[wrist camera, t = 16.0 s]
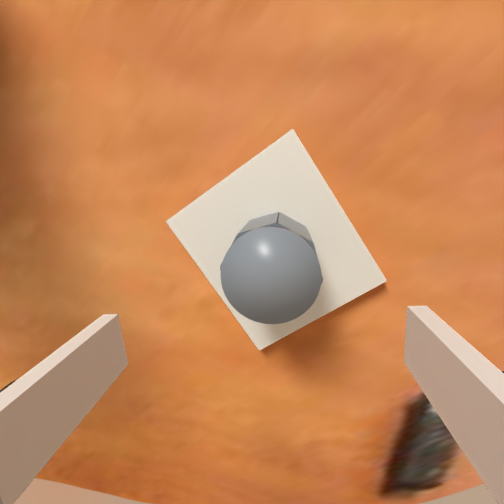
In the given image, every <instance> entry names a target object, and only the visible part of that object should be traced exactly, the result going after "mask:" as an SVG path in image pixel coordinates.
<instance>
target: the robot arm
mask: <svg viewBox="0 0 504 504" xmlns="http://www.w3.org/2000/svg"><path fill="white" fill-rule="evenodd" d="M404 364H405V365H406V367H407V368H408V370H409V371H410V373H411V374H412V376H413V377H414V379H415V380H416V382H417V383H418V385H419V386H420V388H421V389H422V391H423V392H424V394H425V395H426V397H427V398H428V400H429V401H430V403H431V404H432V406H433V407H434V409H435V410H436V412H437V413H438V415H439V416H440V418H441V419H442V421H443V422H444V424H445V425H446V427H447V428H448V430H449V431H450V433H451V434H452V436H453V437H454V439H455V440H456V442H457V443H458V445H459V446H460V448H461V449H462V451H463V452H464V454H465V455H466V457H467V458H468V460H469V461H470V463H471V464H472V466H473V467H474V469H475V471H476V472H477V474H478V475H479V477H480V478H481V480H482V481H483V483H484V484H485V485H486V487H487V488H488V490H489V492H490V493H491V494H492V496H493V497H494V499H495V501H496V502H497V503H498V504H504V371H500V370H499V369H498V368H497V367H496V366H494V365H493V364H492V363H491V362H490V361H489V360H488V359H486V358H485V357H484V356H483V355H482V354H481V353H480V352H478V351H477V350H476V349H475V348H474V347H473V346H472V345H471V344H469V343H468V342H467V341H466V340H465V339H464V338H463V337H461V336H460V335H459V334H458V333H457V332H456V331H455V330H453V329H452V328H451V327H450V326H449V325H448V324H447V323H445V322H444V321H443V320H442V319H441V318H440V317H439V316H437V315H436V314H435V313H434V312H433V311H432V310H431V309H430V308H428V307H427V306H407V320H406V338H405V355H404ZM127 366H128V360H127V355H126V350H125V345H124V340H123V335H122V331H121V326H120V321H119V316H118V314H103V315H102V316H101V317H99V318H98V319H97V320H95V321H94V322H93V323H91V324H90V325H89V326H87V327H86V328H85V329H83V330H82V331H81V332H79V333H78V334H77V335H76V336H74V337H73V338H72V339H70V340H69V341H68V342H66V343H65V344H64V345H62V346H61V347H60V348H58V349H57V350H56V351H54V352H53V353H52V354H51V355H49V356H48V357H47V358H45V359H44V360H43V361H41V362H40V363H39V364H37V365H36V366H35V367H33V368H32V369H31V370H29V371H28V372H27V373H26V374H24V375H23V376H22V377H20V378H18V379H17V380H15V381H13V382H11V383H10V384H8V385H7V386H6V387H4V388H3V389H2V390H0V504H14V502H15V501H16V500H17V499H18V498H19V496H20V495H21V494H22V493H23V492H24V490H25V489H26V488H27V486H29V484H30V483H31V482H32V481H33V479H34V478H35V477H36V476H37V475H38V473H39V472H40V471H41V470H42V469H43V467H44V466H45V465H46V464H47V462H48V461H49V460H50V459H51V458H52V456H53V455H54V454H55V453H56V452H57V450H58V449H59V448H60V447H61V446H62V444H63V443H64V442H65V441H66V439H67V438H68V437H69V436H70V435H71V433H72V432H73V431H74V430H75V429H76V427H77V426H78V425H79V424H80V423H81V421H82V420H83V419H84V418H85V416H86V415H87V414H88V413H89V412H90V410H91V409H92V408H93V407H94V406H95V404H96V403H97V402H98V401H99V400H100V398H101V397H102V396H103V395H104V393H105V392H106V391H107V390H108V389H109V387H110V386H111V385H112V384H113V383H114V381H115V380H116V379H117V378H118V377H119V375H120V374H121V373H122V372H123V370H124V369H125V368H126V367H127Z"/></svg>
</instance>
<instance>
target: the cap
mask: <svg viewBox="0 0 504 504" xmlns="http://www.w3.org/2000/svg"><path fill="white" fill-rule="evenodd" d="M220 270H221V285H222V288H223V291H224V294H225V296H226V298H227V300H228V301H229V303H230V304H231V305H232V306H233V307H234V309H235V310H236V311H238V312H239V313H240V314H241V315H243V316H245V317H246V318H248V319H250V320H253V321H256V322H259V323H263V324H281V323H285V322H289V321H291V320H294V319H296V318H298V317H299V316H301V315H302V314H304V313H305V312H306V311H307V310H308V309H309V308H310V307H311V306H312V304H313V303H314V302H315V300H316V298H317V296H318V294H319V291H320V287H321V284H322V283H323V277H322V273H321V267H320V264H319V261H318V257H317V254H316V250H315V246H314V243H313V240H312V238H311V236H310V234H309V232H308V230H307V228H306V226H304V225H302V224H301V223H299V222H297V221H295V220H293V219H292V218H290V217H288V216H286V215H284V214H283V213H281V212H276V213H272V214H269V215H265V216H262V217H258V218H255V219H251V220H250V221H249V222H248V223H247V224H246V225H245V226H244V227H243V228H242V229H241V230H240V232H239V233H238V234H237V235H236V237H235V239H234V241H233V243H232V245H231V247H230V248H229V249H228V251H227V253H226V254H225V257H224V259H223V261H222V263H221V265H220Z"/></svg>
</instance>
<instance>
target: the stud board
mask: <svg viewBox="0 0 504 504" xmlns="http://www.w3.org/2000/svg"><path fill="white" fill-rule="evenodd" d="M276 212H281V213H283V214H284V215H286V216H288V217H290V218H292V219H293V220H295V221H297V222H299V223H301V224H302V225H304V226H306V228H307V230H308V232H309V234H310V236H311V238H312V240H313V243H314V246H315V250H316V254H317V257H318V261H319V264H320V267H321V273H322V277H323V283H322V284H321V287H320V291H319V294H318V296H317V298H316V300H315V302H314V303H313V304H312V306H311V307H310V308H309V309H308V310H307V311H306V312H305V313H304V314H302V315H301V316H299V317H298V318H296V319H294V320H291V321H289V322H285V323H281V324H263V323H259V322H256V321H253V320H250V319H248V318H246V317H245V316H243V315H241V314H240V313H239V312H238V311H236V310H235V309H234V307H233V306H232V305H231V304H230V303H229V301H228V300H227V298H226V296H225V294H224V291H223V288H222V285H221V270H220V265H221V263H222V261H223V259H224V257H225V254H226V253H227V251H228V249H229V248H230V247H231V245H232V243H233V241H234V239H235V237H236V235H237V234H238V233H239V232H240V230H241V229H242V228H243V227H244V226H245V225H246V224H247V223H248V222H249V221H250V220H251V219H255V218H258V217H262V216H265V215H269V214H272V213H276ZM166 222H167V224H168V225H169V227H170V228H171V229H172V231H173V232H174V233H175V235H176V236H177V238H178V239H179V240H180V242H181V243H182V244H183V246H184V247H185V249H186V250H187V251H188V253H189V254H190V256H191V257H192V258H193V260H194V261H195V262H196V264H197V265H198V267H199V268H200V269H201V271H202V272H203V273H204V275H205V276H206V278H207V279H208V280H209V282H210V283H211V285H212V286H213V287H214V289H215V290H216V291H217V293H218V294H219V296H220V297H221V298H222V300H223V301H224V302H225V304H226V305H227V307H228V308H229V309H230V311H231V312H232V314H233V315H234V316H235V318H236V319H237V320H238V322H239V323H240V325H241V326H242V327H243V329H244V330H245V331H246V333H247V334H248V336H249V337H250V338H251V340H252V341H253V343H254V344H255V345H256V347H257V348H258V349H259V350H261V349H263V348H265V347H267V346H269V345H270V344H272V343H274V342H276V341H278V340H280V339H281V338H283V337H285V336H287V335H289V334H291V333H292V332H294V331H296V330H298V329H300V328H302V327H303V326H305V325H307V324H309V323H311V322H313V321H314V320H316V319H318V318H320V317H322V316H324V315H325V314H327V313H329V312H331V311H333V310H335V309H336V308H338V307H340V306H342V305H344V304H346V303H347V302H349V301H351V300H353V299H355V298H357V297H358V296H360V295H362V294H364V293H366V292H368V291H369V290H371V289H373V288H375V287H377V286H379V285H380V284H382V283H384V282H386V281H387V280H386V278H385V277H384V275H383V274H382V272H381V270H380V269H379V267H378V265H377V264H376V262H375V261H374V259H373V257H372V256H371V254H370V253H369V251H368V249H367V248H366V246H365V244H364V243H363V241H362V240H361V238H360V236H359V235H358V233H357V232H356V230H355V228H354V227H353V225H352V224H351V222H350V220H349V219H348V217H347V215H346V214H345V212H344V211H343V209H342V207H341V206H340V204H339V203H338V201H337V199H336V198H335V196H334V194H333V193H332V191H331V190H330V188H329V186H328V185H327V183H326V182H325V180H324V178H323V177H322V175H321V173H320V172H319V170H318V169H317V167H316V165H315V164H314V162H313V161H312V159H311V157H310V156H309V154H308V152H307V151H306V149H305V148H304V146H303V144H302V143H301V141H300V140H299V138H298V136H297V135H296V133H295V131H294V130H293V129H292V130H290V131H289V132H288V133H286V134H285V135H284V136H282V137H281V138H279V139H278V140H277V141H275V142H274V143H273V144H271V145H270V146H269V147H267V148H266V149H264V150H263V151H262V152H260V153H259V154H258V155H256V156H255V157H253V158H252V159H251V160H249V161H248V162H247V163H245V164H244V165H242V166H241V167H240V168H238V169H237V170H236V171H234V172H233V173H232V174H230V175H229V176H227V177H226V178H225V179H223V180H222V181H221V182H219V183H218V184H216V185H215V186H214V187H212V188H211V189H210V190H208V191H207V192H205V193H204V194H203V195H201V196H200V197H199V198H197V199H196V200H195V201H193V202H192V203H190V204H189V205H188V206H186V207H185V208H184V209H182V210H181V211H179V212H178V213H177V214H175V215H174V216H173V217H171V218H170V219H168V220H167V221H166Z"/></svg>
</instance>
